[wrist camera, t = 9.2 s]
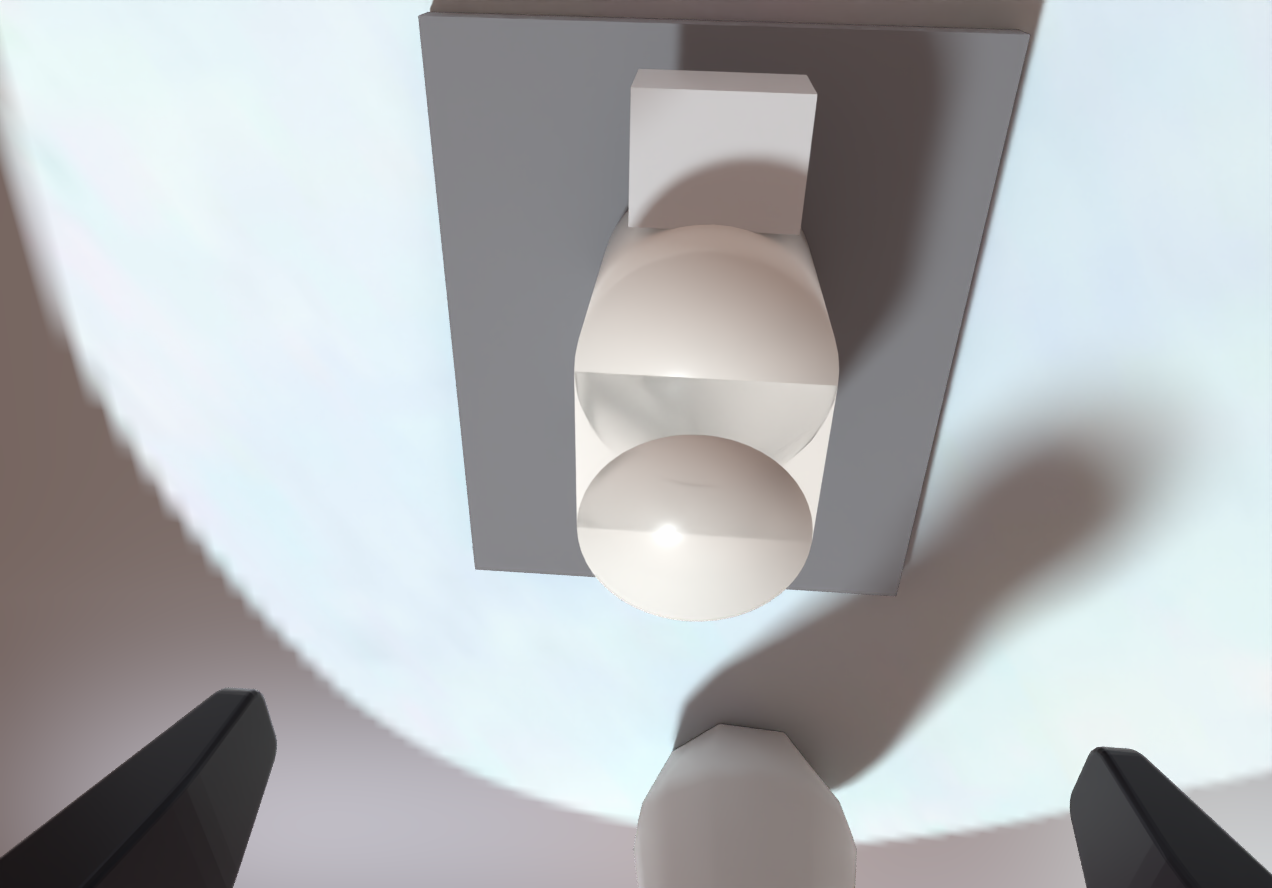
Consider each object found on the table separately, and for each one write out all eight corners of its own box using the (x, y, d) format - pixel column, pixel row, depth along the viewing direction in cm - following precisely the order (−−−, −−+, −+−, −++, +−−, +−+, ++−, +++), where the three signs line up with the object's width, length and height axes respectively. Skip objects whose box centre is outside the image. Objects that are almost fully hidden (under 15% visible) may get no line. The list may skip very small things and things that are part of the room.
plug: (782, 499, 19) (797, 628, 16) (601, 488, 19) (578, 614, 16) (842, 64, 14) (882, 115, 11) (602, 55, 15) (569, 102, 11)
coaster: (1018, 29, 14) (1030, 34, 14) (891, 579, 21) (896, 596, 20) (428, 11, 15) (418, 15, 14) (480, 553, 21) (475, 569, 21)
